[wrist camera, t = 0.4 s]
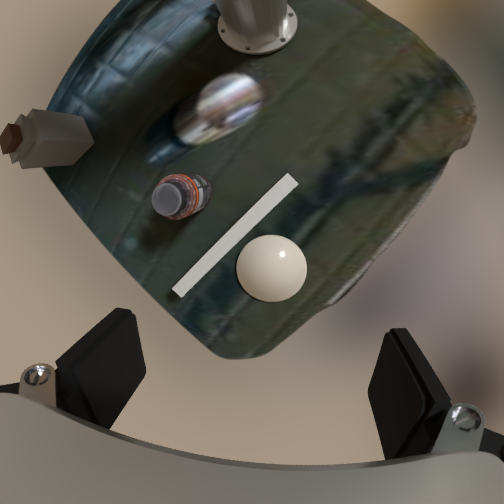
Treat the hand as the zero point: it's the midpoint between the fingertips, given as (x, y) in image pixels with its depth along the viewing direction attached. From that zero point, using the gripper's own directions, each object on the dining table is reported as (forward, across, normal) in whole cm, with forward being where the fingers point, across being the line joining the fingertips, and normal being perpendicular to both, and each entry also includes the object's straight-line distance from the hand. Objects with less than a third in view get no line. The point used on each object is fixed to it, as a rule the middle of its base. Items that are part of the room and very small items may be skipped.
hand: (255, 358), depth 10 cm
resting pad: (+34, +1, +8) cm, 35 cm away
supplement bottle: (+34, +13, -4) cm, 37 cm away
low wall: (+34, +7, +3) cm, 35 cm away
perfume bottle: (+34, +37, -14) cm, 53 cm away
